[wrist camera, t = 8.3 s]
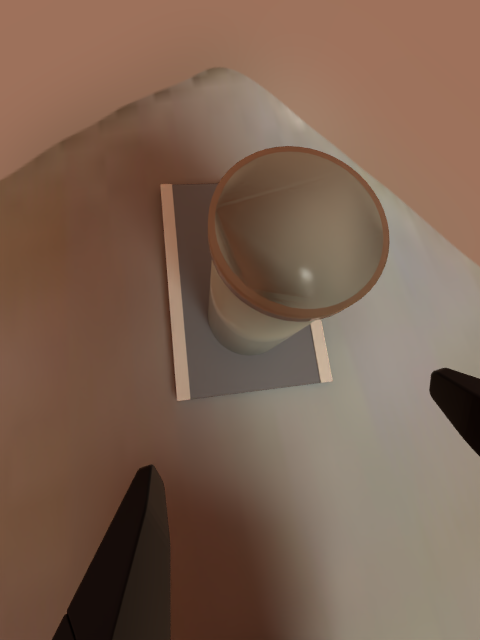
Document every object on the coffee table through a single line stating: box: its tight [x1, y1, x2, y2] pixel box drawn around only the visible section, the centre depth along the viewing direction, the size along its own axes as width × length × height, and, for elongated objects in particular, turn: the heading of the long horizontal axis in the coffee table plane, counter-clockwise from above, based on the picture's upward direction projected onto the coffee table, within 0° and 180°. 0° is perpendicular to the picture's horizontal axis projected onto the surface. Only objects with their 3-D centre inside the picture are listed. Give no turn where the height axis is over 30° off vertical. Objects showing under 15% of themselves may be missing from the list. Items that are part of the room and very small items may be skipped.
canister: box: [208, 146, 389, 356], centre depth 15 cm, size 6×6×12 cm
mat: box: [160, 184, 333, 401], centre depth 22 cm, size 15×10×1 cm, turn 7°
